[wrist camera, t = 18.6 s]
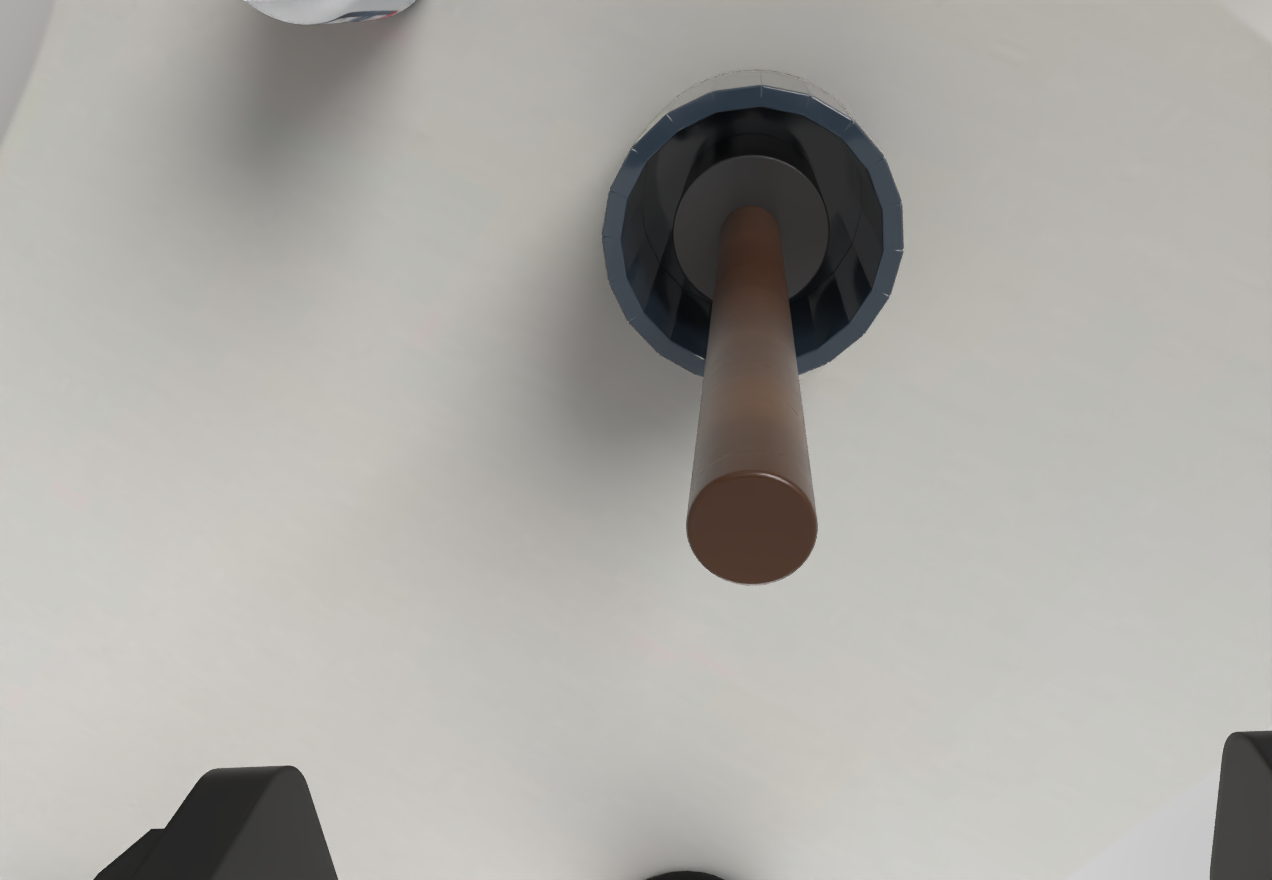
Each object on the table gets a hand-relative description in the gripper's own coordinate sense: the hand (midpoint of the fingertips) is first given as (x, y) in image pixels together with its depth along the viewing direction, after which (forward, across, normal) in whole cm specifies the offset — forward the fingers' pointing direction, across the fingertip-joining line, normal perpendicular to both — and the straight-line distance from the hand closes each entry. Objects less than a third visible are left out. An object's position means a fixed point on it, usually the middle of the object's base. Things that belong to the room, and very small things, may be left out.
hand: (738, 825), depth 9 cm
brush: (+30, 0, 0) cm, 30 cm away
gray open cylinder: (+30, 0, 0) cm, 30 cm away
